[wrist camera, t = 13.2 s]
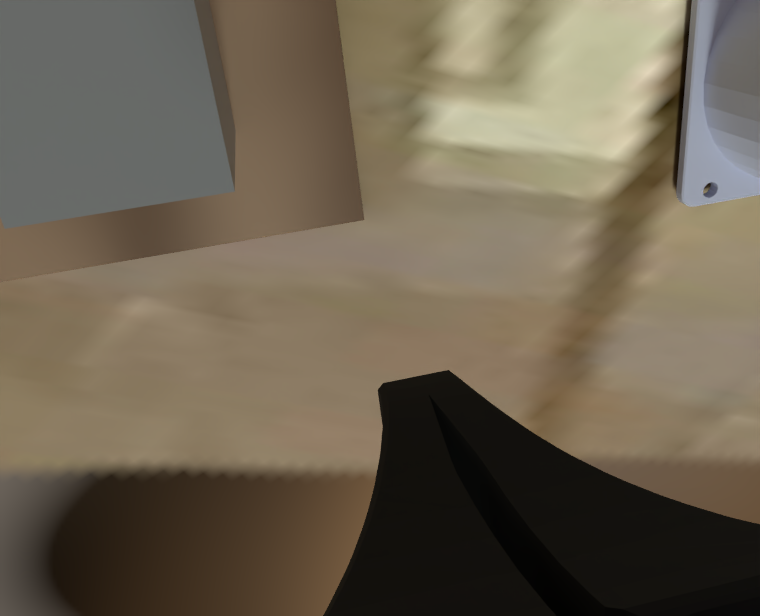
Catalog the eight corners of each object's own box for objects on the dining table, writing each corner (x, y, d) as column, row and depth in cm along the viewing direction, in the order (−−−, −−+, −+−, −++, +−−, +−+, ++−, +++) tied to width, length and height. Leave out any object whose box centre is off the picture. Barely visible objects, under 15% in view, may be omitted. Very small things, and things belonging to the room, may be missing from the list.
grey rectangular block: (198, -50, 17) (181, -57, 12) (235, 130, 20) (234, 191, 14) (11, -27, 17) (-91, -24, 12) (69, 156, 19) (4, 228, 14)
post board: (303, -218, 17) (331, -296, 12) (361, 213, 22) (397, 285, 17) (-183, -170, 16) (-378, -234, 11) (-5, 276, 21) (-82, 373, 16)
